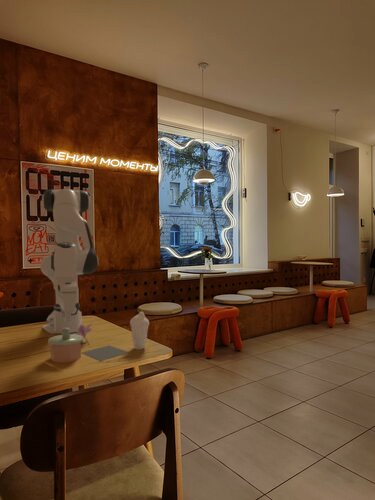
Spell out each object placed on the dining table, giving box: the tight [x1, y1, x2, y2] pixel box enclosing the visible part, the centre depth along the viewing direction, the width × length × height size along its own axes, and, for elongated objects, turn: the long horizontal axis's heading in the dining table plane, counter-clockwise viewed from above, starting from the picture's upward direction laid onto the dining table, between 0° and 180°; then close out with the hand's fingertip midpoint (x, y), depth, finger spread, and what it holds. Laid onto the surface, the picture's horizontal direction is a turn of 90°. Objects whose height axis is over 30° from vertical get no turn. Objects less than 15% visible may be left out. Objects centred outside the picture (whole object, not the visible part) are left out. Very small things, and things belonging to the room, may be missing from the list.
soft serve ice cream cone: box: [129, 311, 150, 350], centre depth 153 cm, size 8×8×16 cm
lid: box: [47, 328, 84, 346], centre depth 140 cm, size 13×13×5 cm
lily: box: [75, 323, 93, 346], centre depth 158 cm, size 12×12×10 cm
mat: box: [81, 344, 130, 362], centre depth 146 cm, size 14×14×1 cm
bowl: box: [50, 342, 82, 364], centre depth 140 cm, size 11×11×7 cm
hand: (65, 319), depth 140 cm, fingers open, 8 cm apart
